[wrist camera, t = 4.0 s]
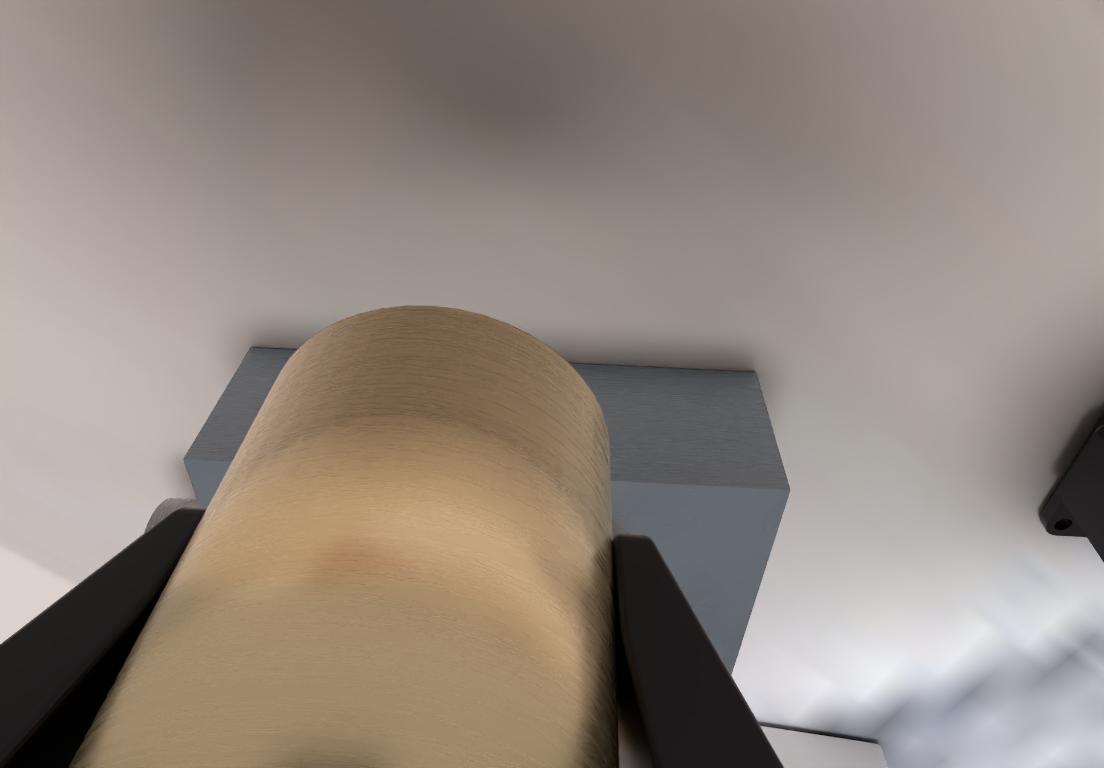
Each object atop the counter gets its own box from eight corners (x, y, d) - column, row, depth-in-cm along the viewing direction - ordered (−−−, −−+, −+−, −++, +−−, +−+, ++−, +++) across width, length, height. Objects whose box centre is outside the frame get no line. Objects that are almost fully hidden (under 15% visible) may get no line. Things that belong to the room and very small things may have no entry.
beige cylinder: (626, 318, 9) (689, 1191, 3) (594, 570, 11) (599, 1277, 6) (236, 293, 9) (-351, 1125, 3) (297, 550, 11) (30, 1239, 6)
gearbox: (756, 372, 21) (807, 551, 16) (692, 630, 29) (714, 808, 24) (142, 342, 21) (7, 510, 16) (236, 606, 29) (162, 778, 24)
